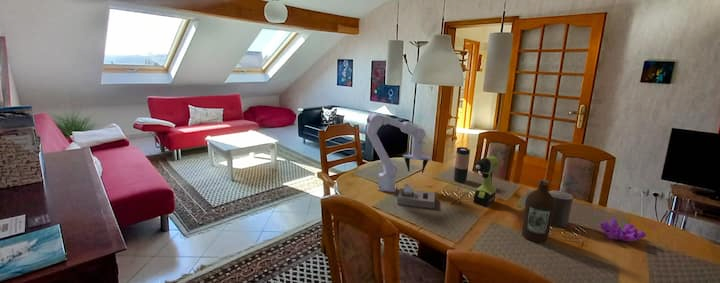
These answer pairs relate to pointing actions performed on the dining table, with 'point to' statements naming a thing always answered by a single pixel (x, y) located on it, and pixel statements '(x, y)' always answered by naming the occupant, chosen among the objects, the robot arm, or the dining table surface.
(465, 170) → the travel mug
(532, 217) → the olive oil
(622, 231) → the purple coral
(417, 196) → the socket block
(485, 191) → the cordless drill
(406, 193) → the square peg
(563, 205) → the pillar candle
